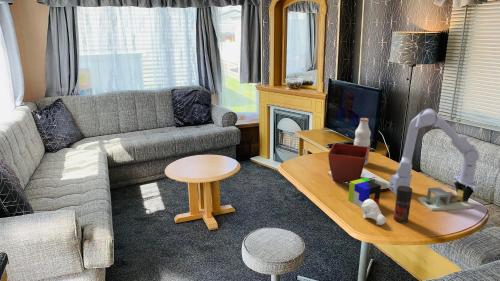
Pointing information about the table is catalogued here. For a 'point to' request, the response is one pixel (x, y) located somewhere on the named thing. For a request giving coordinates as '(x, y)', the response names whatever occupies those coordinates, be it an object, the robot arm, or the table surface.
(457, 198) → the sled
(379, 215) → the white rounded lumpy piece
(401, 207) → the deodorant
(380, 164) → the table surface
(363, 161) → the plant pot
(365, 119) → the white bottle
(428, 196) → the deck tunnel
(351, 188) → the puzzle toy
